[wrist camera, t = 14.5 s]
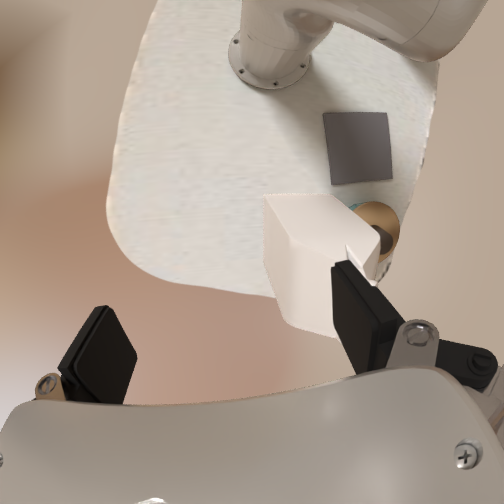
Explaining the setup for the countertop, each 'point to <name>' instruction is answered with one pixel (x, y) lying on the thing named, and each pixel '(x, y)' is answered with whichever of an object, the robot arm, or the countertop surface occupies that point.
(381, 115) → the mat
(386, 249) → the lid
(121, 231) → the countertop surface
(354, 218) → the milk
